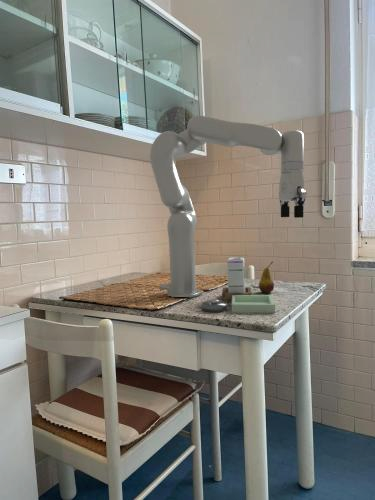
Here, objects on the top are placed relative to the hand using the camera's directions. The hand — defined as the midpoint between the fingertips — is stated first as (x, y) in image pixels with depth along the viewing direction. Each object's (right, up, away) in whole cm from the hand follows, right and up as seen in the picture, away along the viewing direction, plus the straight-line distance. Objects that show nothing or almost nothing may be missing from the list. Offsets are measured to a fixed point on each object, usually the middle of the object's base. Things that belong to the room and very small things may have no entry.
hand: (291, 217), depth 133 cm
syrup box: (-19, -29, +1) cm, 35 cm away
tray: (-16, -30, -12) cm, 36 cm away
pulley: (-28, -31, -13) cm, 43 cm away
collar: (-19, -29, +1) cm, 35 cm away
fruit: (-7, -28, +9) cm, 30 cm away
